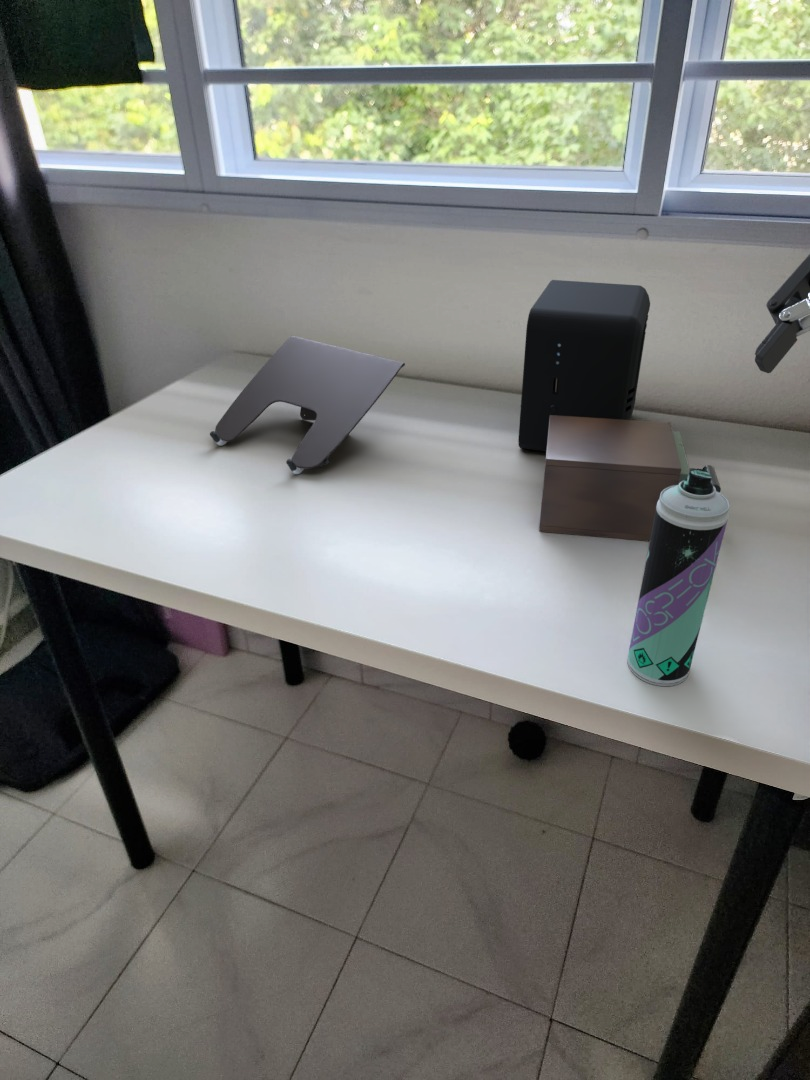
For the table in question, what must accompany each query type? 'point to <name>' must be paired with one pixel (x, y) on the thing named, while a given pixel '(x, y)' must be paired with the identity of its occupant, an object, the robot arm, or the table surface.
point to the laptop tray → (312, 395)
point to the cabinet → (606, 476)
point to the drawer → (685, 467)
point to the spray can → (677, 579)
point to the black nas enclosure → (581, 355)
